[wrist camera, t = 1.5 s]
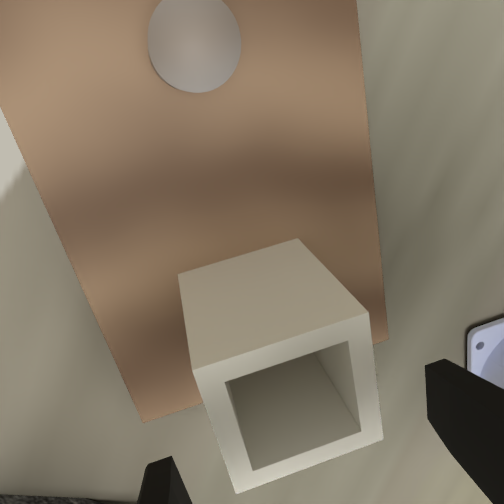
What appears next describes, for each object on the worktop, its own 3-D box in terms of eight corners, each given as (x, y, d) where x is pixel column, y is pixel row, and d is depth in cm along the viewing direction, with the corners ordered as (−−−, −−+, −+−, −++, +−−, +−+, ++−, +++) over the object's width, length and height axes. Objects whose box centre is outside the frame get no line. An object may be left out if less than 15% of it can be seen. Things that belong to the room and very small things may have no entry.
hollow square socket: (316, 337, 19) (383, 439, 13) (210, 372, 18) (236, 494, 13) (297, 238, 17) (368, 312, 11) (177, 274, 16) (192, 370, 11)
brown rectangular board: (376, 326, 21) (426, 379, 17) (143, 404, 20) (142, 481, 16) (327, -122, 14) (396, -202, 10) (-56, -49, 12) (-150, -110, 8)
